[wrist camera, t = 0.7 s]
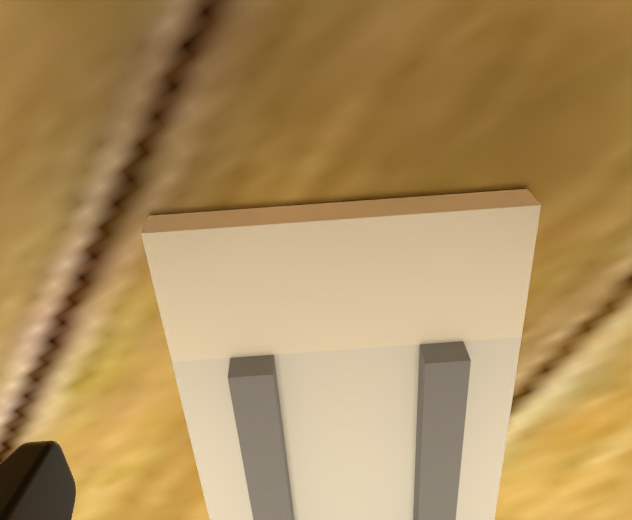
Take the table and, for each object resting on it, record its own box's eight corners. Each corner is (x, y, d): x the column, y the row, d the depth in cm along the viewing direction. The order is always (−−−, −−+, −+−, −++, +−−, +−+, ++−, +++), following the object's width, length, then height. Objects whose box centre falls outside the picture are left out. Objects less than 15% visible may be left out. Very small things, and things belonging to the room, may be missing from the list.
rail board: (527, 188, 19) (574, 244, 16) (480, 538, 28) (504, 617, 25) (149, 215, 19) (121, 276, 16) (227, 556, 28) (219, 637, 25)
